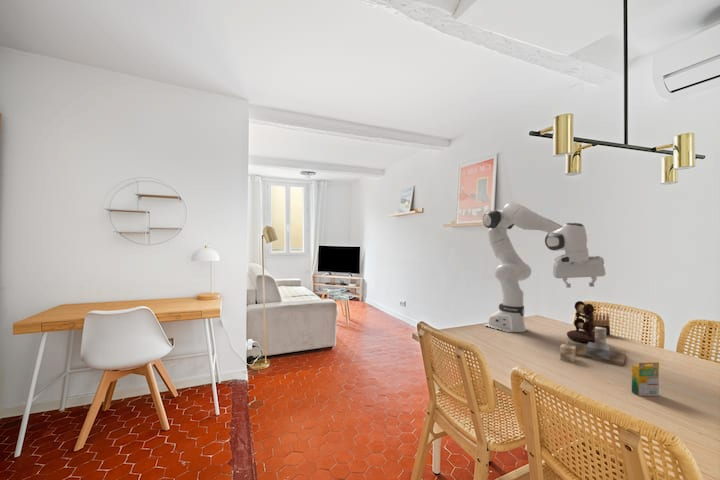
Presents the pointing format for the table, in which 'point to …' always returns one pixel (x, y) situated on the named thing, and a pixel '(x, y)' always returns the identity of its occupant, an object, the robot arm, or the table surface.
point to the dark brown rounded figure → (583, 323)
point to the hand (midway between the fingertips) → (579, 286)
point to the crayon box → (645, 379)
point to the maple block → (567, 353)
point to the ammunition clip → (601, 322)
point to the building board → (613, 354)
